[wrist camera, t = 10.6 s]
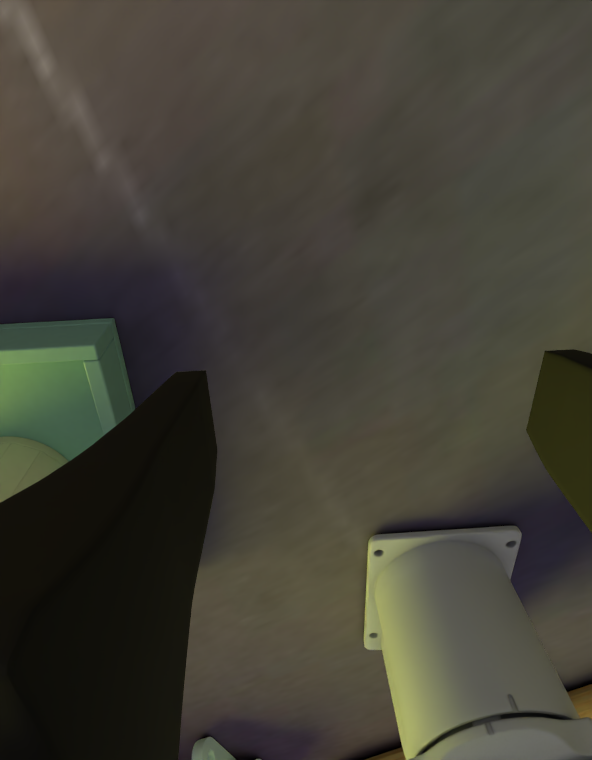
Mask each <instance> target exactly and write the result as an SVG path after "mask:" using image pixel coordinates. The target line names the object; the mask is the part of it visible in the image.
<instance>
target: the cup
mask: <svg viewBox="0 0 592 760" xmlns="http://www.w3.org/2000/svg"><path fill="white" fill-rule="evenodd" d="M67 462H69V461H68V460H67V459H66V458H65V457H64V456H62V455H61V454H60V453H59V452H57V451H56V450H54V449H52V448H51V447H49V446H47V445H45V444H42V443H40V442H37V441H34V440H31V439H27V438H22V437H13V436H2V437H0V502H2V501H4V500H6V499H8V498H9V497H11V496H13V495H15V494H17V493H18V492H20V491H22V490H24V489H26V488H27V487H29V486H31V485H33V484H34V483H36V482H38V481H40V480H41V479H43V478H44V477H46V476H48V475H49V474H51V473H52V472H54V471H55V470H57V469H58V468H60V467H61V466H63V465H64V464H66V463H67Z"/></svg>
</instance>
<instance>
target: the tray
mask: <svg viewBox="0 0 592 760" xmlns="http://www.w3.org/2000/svg"><path fill="white" fill-rule="evenodd" d="M134 410H135V404H134V400H133V396H132V392H131V387H130V383H129V379H128V375H127V371H126V366H125V362H124V358H123V354H122V349H121V345H120V341H119V337H118V332H117V328H116V324H115V320H114V318H106V319H88V320H70V321H51V322H33V323H14V324H0V437H2V436H13V437H22V438H27V439H31V440H34V441H37V442H40V443H42V444H45V445H47V446H49V447H51V448H52V449H54V450H56V451H57V452H59V453H60V454H61V455H62V456H64V457H65V458H66V459H67V460H68V461H71V460H72V459H73V458H75V457H76V456H78V455H79V454H80V453H82V452H83V451H85V450H86V449H87V448H89V447H90V446H91V445H93V444H94V443H95V442H96V441H98V440H99V439H100V438H101V437H103V436H104V435H105V434H106V433H108V432H109V431H110V430H111V429H113V428H114V427H115V426H116V425H118V424H119V423H120V422H121V421H123V420H124V419H125V418H126V417H127V416H128V415H130V414H131V413H132V412H133V411H134Z"/></svg>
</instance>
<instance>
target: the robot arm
mask: <svg viewBox="0 0 592 760" xmlns="http://www.w3.org/2000/svg"><path fill="white" fill-rule="evenodd" d="M526 431H527V433H528V435H529V437H530V439H531V441H532V443H533V445H534V447H535V450H536V452H537V453H538V455H539V457H540V459H541V461H542V463H543V465H544V466H545V468H546V470H547V471H548V473H549V474H550V476H551V477H552V478H553V480H554V481H555V483H556V484H557V486H558V487H559V488H560V490H561V491H562V493H563V494H564V495H565V497H566V498H567V500H568V501H569V502H570V504H571V505H572V506H573V508H574V509H575V511H576V512H577V513H578V515H579V516H580V517H581V519H582V520H583V522H584V523H585V524H586V526H587V527H588V528H589V530H590V531H591V533H592V354H590V353H586V352H582V351H578V350H555V351H545V353H544V357H543V361H542V365H541V370H540V374H539V378H538V382H537V387H536V391H535V395H534V400H533V404H532V408H531V412H530V417H529V421H528V425H527V429H526ZM216 461H217V444H216V438H215V431H214V424H213V417H212V410H211V403H210V396H209V390H208V383H207V376H206V370H205V371H188V372H176V373H175V374H174V375H172V376H171V377H170V378H169V379H168V380H167V381H166V382H165V383H164V384H162V385H161V386H160V387H159V388H158V389H157V390H156V391H155V392H154V393H153V394H152V395H151V396H150V397H148V398H147V399H146V400H145V401H144V402H143V403H142V404H141V405H140V406H138V407H137V408H136V409H135V410H134V411H133V412H132V413H131V414H130V415H128V416H127V417H126V418H125V419H124V420H123V421H121V422H120V423H119V424H118V425H116V426H115V427H114V428H113V429H111V430H110V431H109V432H108V433H106V434H105V435H104V436H103V437H101V438H100V439H99V440H98V441H96V442H95V443H94V444H93V445H91V446H90V447H89V448H87V449H86V450H85V451H83V452H82V453H80V454H79V455H78V456H76V457H75V458H73V459H72V460H71V461H69V462H67V463H66V464H64V465H63V466H61V467H60V468H58V469H57V470H55V471H54V472H52V473H51V474H49V475H48V476H46V477H44V478H43V479H41V480H40V481H38V482H36V483H34V484H33V485H31V486H29V487H27V488H26V489H24V490H22V491H20V492H18V493H17V494H15V495H13V496H11V497H9V498H8V499H6V500H4V501H2V502H0V760H178V754H179V741H180V727H181V714H182V702H183V691H184V680H185V668H186V657H187V647H188V637H189V627H190V617H191V607H192V600H193V594H194V588H195V582H196V577H197V572H198V567H199V562H200V558H201V553H202V548H203V543H204V538H205V534H206V529H207V524H208V519H209V514H210V509H211V504H212V499H213V494H214V488H215V476H216ZM521 538H522V533H521V531H520V530H519V528H518V527H516V526H497V527H482V528H467V529H452V530H437V531H421V532H406V533H391V534H377V535H374V536H372V537H371V538H370V539H369V542H368V561H367V581H366V602H365V623H364V646H365V648H366V649H368V650H382V653H383V657H384V662H385V667H386V672H387V677H388V681H389V686H390V691H391V696H392V701H393V705H394V710H395V715H396V720H397V725H398V729H399V734H400V739H401V744H402V748H403V752H404V755H405V758H406V760H592V720H591V718H589V717H585V718H580V717H579V715H578V713H577V711H576V709H575V707H574V705H573V703H572V701H571V699H570V697H569V695H568V693H567V691H566V689H565V687H564V685H563V683H562V681H561V679H560V677H559V675H558V674H557V672H556V670H555V668H554V666H553V664H552V662H551V660H550V658H549V656H548V654H547V652H546V650H545V648H544V646H543V644H542V642H541V640H540V638H539V636H538V634H537V632H536V630H535V628H534V626H533V624H532V622H531V620H530V618H529V616H528V614H527V612H526V611H525V609H524V607H523V605H522V603H521V601H520V599H519V597H518V595H517V593H516V591H515V589H514V587H513V585H512V583H511V581H510V579H511V576H512V572H513V568H514V564H515V560H516V557H517V553H518V549H519V545H520V541H521ZM376 550H378V551H376Z"/></svg>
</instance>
